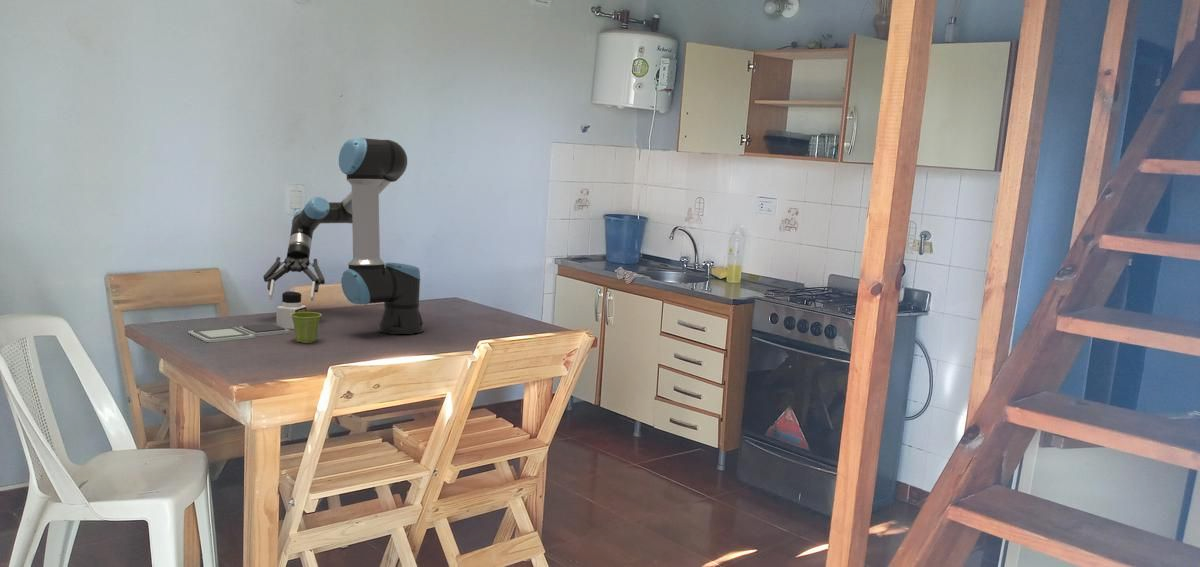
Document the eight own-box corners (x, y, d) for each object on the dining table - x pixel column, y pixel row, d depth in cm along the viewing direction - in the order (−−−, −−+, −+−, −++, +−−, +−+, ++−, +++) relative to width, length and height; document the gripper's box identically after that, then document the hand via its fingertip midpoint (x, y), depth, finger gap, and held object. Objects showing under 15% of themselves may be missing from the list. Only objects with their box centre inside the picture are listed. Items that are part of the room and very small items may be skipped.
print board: (254, 337, 293) (254, 334, 293) (206, 342, 282) (206, 339, 282) (234, 329, 303) (234, 325, 303) (187, 333, 293) (187, 330, 293)
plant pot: (292, 345, 286) (293, 317, 285) (287, 338, 295) (288, 312, 293) (323, 343, 291) (324, 316, 290) (318, 337, 299) (318, 311, 298)
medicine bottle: (295, 329, 308) (295, 294, 306) (276, 327, 310) (276, 292, 308) (306, 326, 315) (306, 291, 313) (287, 324, 316) (287, 289, 315)
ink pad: (289, 333, 302) (289, 329, 302) (254, 336, 294) (254, 332, 294) (273, 326, 311) (273, 322, 311) (238, 329, 302) (238, 325, 302)
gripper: (336, 257, 333) (329, 305, 320) (263, 253, 328) (254, 303, 316) (334, 244, 327) (328, 293, 314) (261, 240, 322) (251, 290, 310)
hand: (291, 298), depth 315 cm, fingers open, 13 cm apart
